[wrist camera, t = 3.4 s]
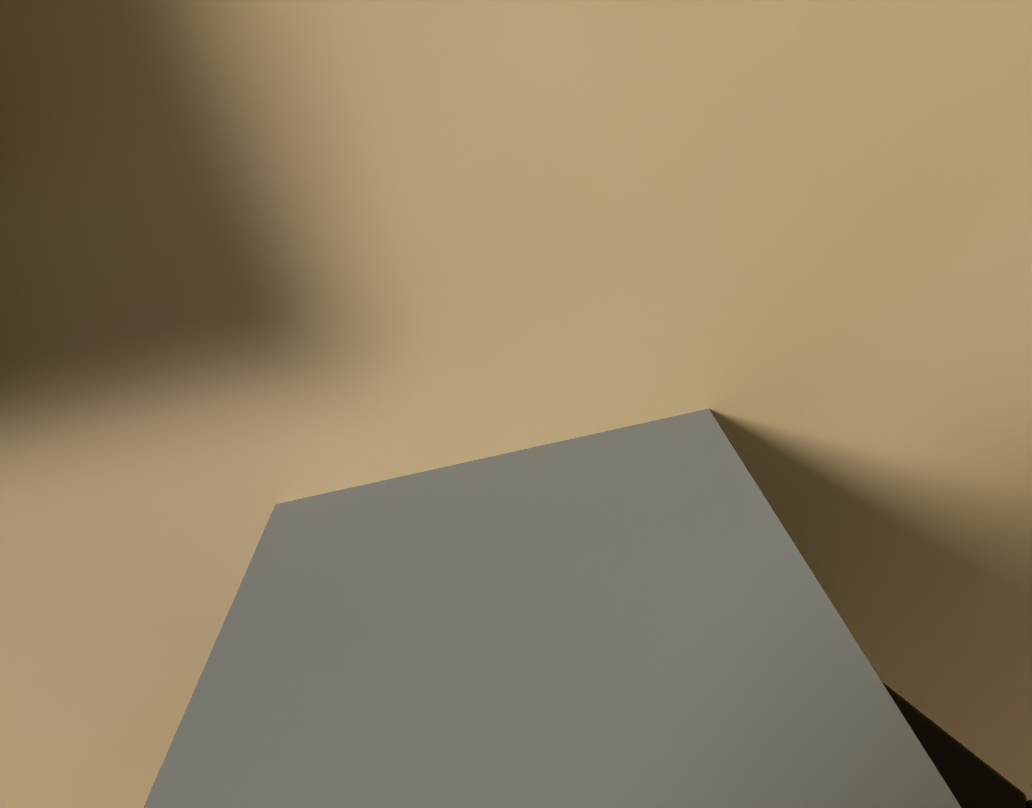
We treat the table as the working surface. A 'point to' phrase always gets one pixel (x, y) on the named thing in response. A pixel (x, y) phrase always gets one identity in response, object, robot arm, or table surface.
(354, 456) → the table surface
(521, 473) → the slate cube
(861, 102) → the table surface
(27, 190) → the table surface
